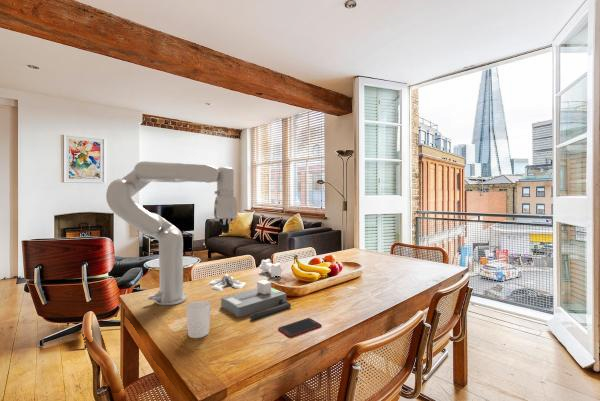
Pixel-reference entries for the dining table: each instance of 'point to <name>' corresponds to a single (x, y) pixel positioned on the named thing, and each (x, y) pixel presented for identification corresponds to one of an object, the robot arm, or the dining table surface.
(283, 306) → the dark grey flat bar
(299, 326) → the cell phone
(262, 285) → the white cube
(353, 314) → the dining table surface
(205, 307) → the white cup
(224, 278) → the cloth
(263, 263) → the bone shaped toy
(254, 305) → the box
